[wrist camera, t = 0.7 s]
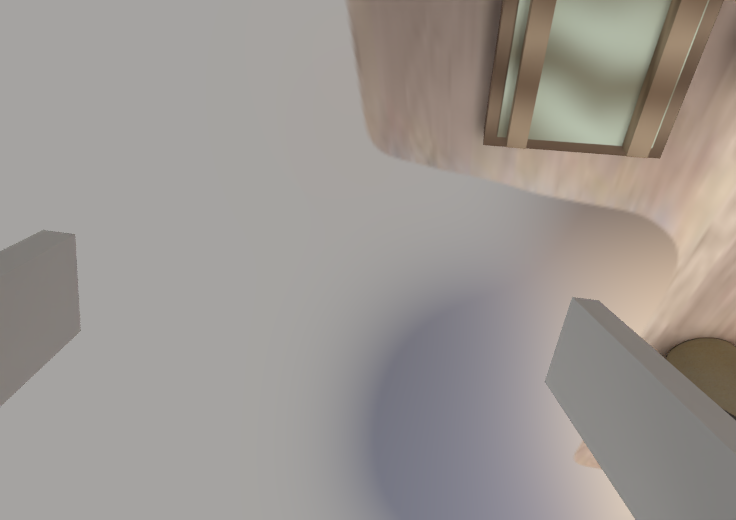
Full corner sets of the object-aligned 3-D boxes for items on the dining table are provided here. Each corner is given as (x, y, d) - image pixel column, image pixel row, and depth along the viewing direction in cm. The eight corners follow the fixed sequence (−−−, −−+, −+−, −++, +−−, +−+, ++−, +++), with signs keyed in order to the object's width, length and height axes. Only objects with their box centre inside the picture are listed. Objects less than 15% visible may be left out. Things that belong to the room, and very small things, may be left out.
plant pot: (816, 338, 51) (914, 485, 39) (718, 411, 61) (772, 547, 49) (680, 295, 51) (735, 428, 39) (604, 374, 61) (629, 501, 49)
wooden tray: (508, -39, 36) (509, -25, 32) (715, -36, 34) (747, -20, 29) (484, 127, 44) (482, 156, 40) (649, 139, 42) (667, 171, 38)
